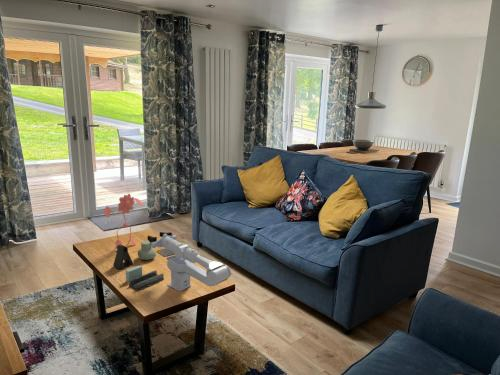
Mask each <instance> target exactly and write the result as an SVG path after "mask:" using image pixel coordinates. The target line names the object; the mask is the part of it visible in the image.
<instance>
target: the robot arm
mask: <svg viewBox="0 0 500 375" xmlns="http://www.w3.org/2000/svg"><path fill="white" fill-rule="evenodd" d="M159 237H160V238H158V236H151V235H147V241H149V242H150V243H151V246H152V248H153V249H155V248H164V249H167V250H168V251H170V252H172V253H173V254H174V255H175V257H172V258H169V259H167V263H166V264H167V268H168V270H169V271H170V283H167V286H168V287H171V288H173V289H174V290H176V291H178V292H181V291H184V290H185V289H187V288H190V287H191V286H192V284H191V277H192V278H194V279H195V280H197V281H199V282H200V283H202V284H204V285H206V286H208V287H215V286H217V285H219V284H220V283H223V282H226V281H227V280H229V278H230V277H231V275H232V271H231V268H230V267H229V266H228V265H227V264H224V263H222V262H219V261H213V260H211V259H209V258H206V257H204V256H202V255H201V253H200V251H197V250H196V249H195V248H194V249H193V248H191V246H190V245H189V244H188V243H187V242H185V243H183V242H182V243H181V242H179V241H177V235H174V234H173V233H172V232H163V231H160V232H159ZM196 264H198V265H200V266H201V267H203V268H201V267H200V266H198V265H196Z"/></svg>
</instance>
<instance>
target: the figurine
mask: <svg viewBox="0 0 500 375" xmlns="http://www.w3.org/2000/svg"><path fill="white" fill-rule="evenodd" d="M118 201H119V203H118V204H117V206H118V208H117V212H116V213H114V212H113V210H111V208H110V207H109V206H108V205H106V206H105V208H104V210H103V211H104V212H103V213H104V216H105V217H106V218H109V217H110V216H111V214H112V215H113V216H115V215H117V214H119V213H121V212H122V213H121V214H122V215H123V218H124V223H123V226H122V227H121V228H119V229H117V230H116V237H117V240H115V249H117V246H118V245H120V244H121V245H123V244H122V242H121V240H120V239H119V233H118V231H120V230H121V229H123V228H128V227H129V231H130V232H129V233H130V235H129V236H128V238H129V240H128V241H127V245H129V244H130V242H131V243H132V244H133V245H136V241H135V238H134V237H132V229H131V228H132V227H131V226H130V225H129V224H128V223H127V221H126V216H125V214H129V213H130V211H132V210H134V205H135V202H136V203H137V204H138V205H139V206H141V207H145V206H144V204H143V202H142V201H141V200H140V199H139V198H135V197H134V196H131V194H130V193H128V194H124V195H123V196H122V197H119V199H118ZM121 245H120V246H121ZM139 250H140V249H139ZM139 250H137V252H138V251H139ZM106 251H108V250H107V249H106ZM131 253H134V252H133V251H132V252H131Z"/></svg>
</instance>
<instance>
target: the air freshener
mask: <svg viewBox="0 0 500 375" xmlns="http://www.w3.org/2000/svg"><path fill="white" fill-rule="evenodd" d="M140 246H141V248H140V249H139V251H138V250H137V256H138V258H139V259H140V260H143V261H149V260H152V259H154V258H155V257H156V256H157V252H156V250H155V248H153V247H152V246H151V243H150V242H149V241H148V240H142V242H141V243H140Z"/></svg>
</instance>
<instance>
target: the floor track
mask: <svg viewBox="0 0 500 375" xmlns="http://www.w3.org/2000/svg"><path fill="white" fill-rule="evenodd" d="M164 279H165V278H164V273H160V274H158V271H157V269H155V270H152V271H150V272H148V273H145V274H142V276H140V277H137V278H135V279H132V280H129V282H128V283H129V284H128V286H129V287H130V288H132V289H134V290H136V291H140V290H143V289H145V288H147V287H149V286H151V285H153V284H156V283H159V282H161V281H163V280H164Z"/></svg>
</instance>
